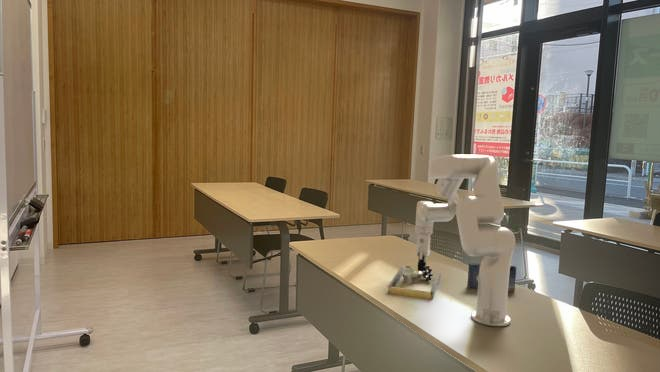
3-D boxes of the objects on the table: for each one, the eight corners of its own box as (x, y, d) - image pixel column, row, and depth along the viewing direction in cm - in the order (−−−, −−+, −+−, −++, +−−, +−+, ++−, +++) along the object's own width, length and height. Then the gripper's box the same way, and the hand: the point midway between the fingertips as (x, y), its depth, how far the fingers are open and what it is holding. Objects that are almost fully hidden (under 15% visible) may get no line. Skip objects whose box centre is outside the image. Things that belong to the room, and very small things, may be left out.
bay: (432, 299, 184) (433, 291, 184) (387, 293, 189) (388, 285, 189) (440, 278, 210) (440, 271, 210) (400, 273, 216) (400, 267, 215)
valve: (406, 285, 200) (432, 283, 205) (407, 269, 200) (433, 267, 204) (398, 280, 206) (423, 278, 211) (399, 265, 206) (424, 263, 210)
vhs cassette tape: (513, 289, 200) (515, 265, 199) (515, 291, 197) (517, 267, 196) (466, 286, 202) (468, 262, 201) (468, 288, 199) (469, 264, 198)
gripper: (430, 233, 206) (428, 276, 209) (434, 227, 220) (432, 267, 223) (412, 232, 209) (410, 274, 211) (417, 225, 223) (415, 265, 225)
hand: (421, 270), depth 217 cm, fingers closed
